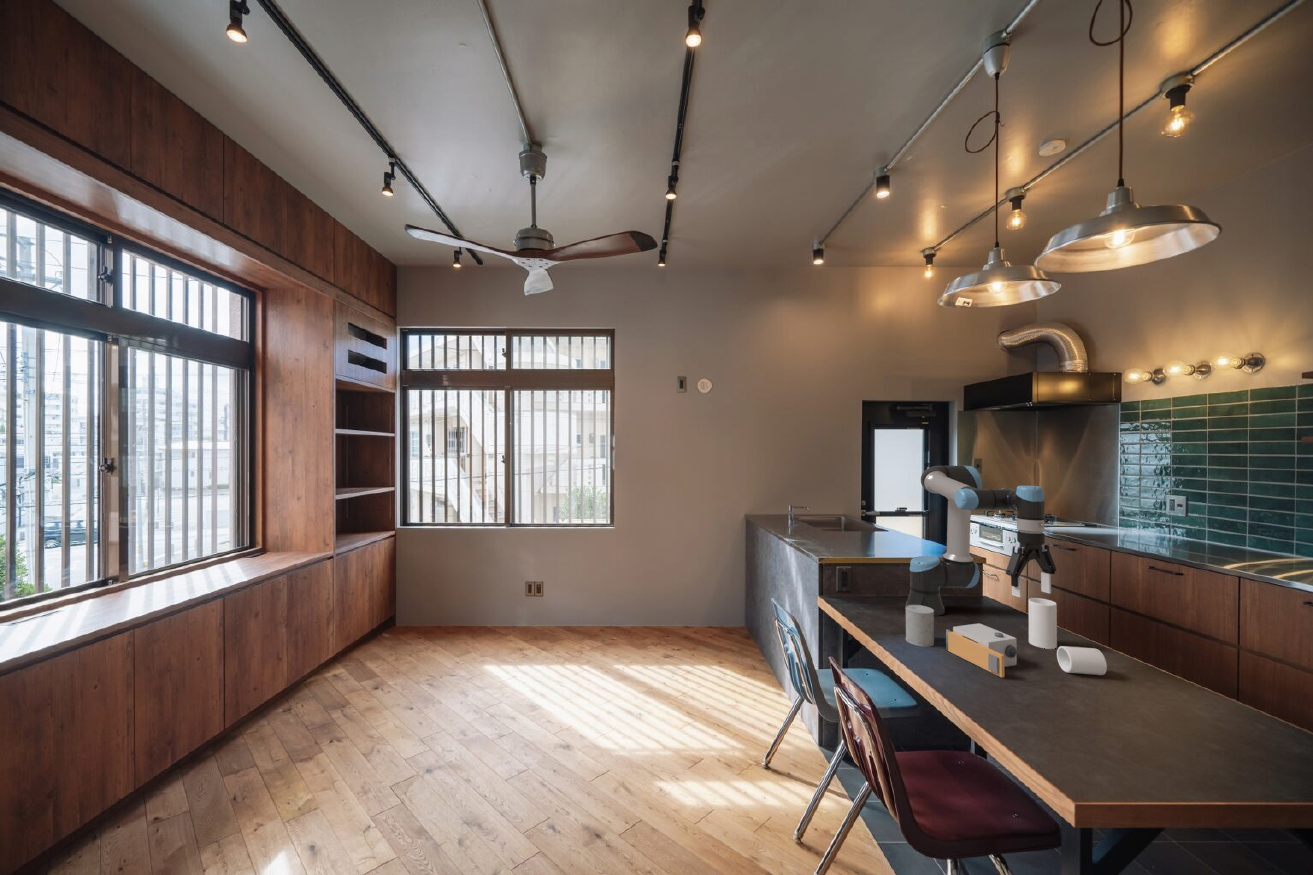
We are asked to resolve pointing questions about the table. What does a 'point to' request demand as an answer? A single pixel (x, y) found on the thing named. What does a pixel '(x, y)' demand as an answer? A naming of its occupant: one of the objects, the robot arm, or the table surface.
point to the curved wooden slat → (975, 653)
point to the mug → (1081, 660)
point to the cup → (1043, 623)
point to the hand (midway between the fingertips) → (1031, 594)
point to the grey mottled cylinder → (920, 625)
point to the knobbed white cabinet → (991, 640)
